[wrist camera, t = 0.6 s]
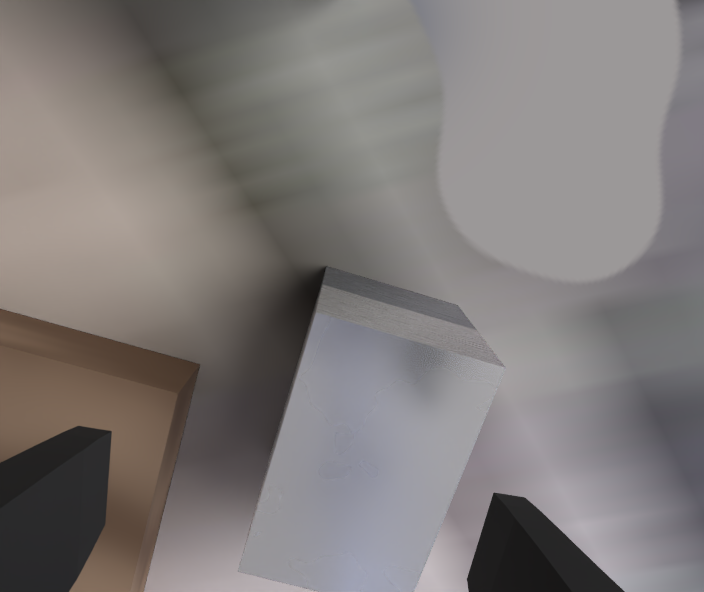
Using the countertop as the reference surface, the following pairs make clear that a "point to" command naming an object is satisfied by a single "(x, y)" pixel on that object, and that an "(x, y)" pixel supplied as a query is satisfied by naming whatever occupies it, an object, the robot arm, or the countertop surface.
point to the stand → (101, 413)
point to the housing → (370, 439)
